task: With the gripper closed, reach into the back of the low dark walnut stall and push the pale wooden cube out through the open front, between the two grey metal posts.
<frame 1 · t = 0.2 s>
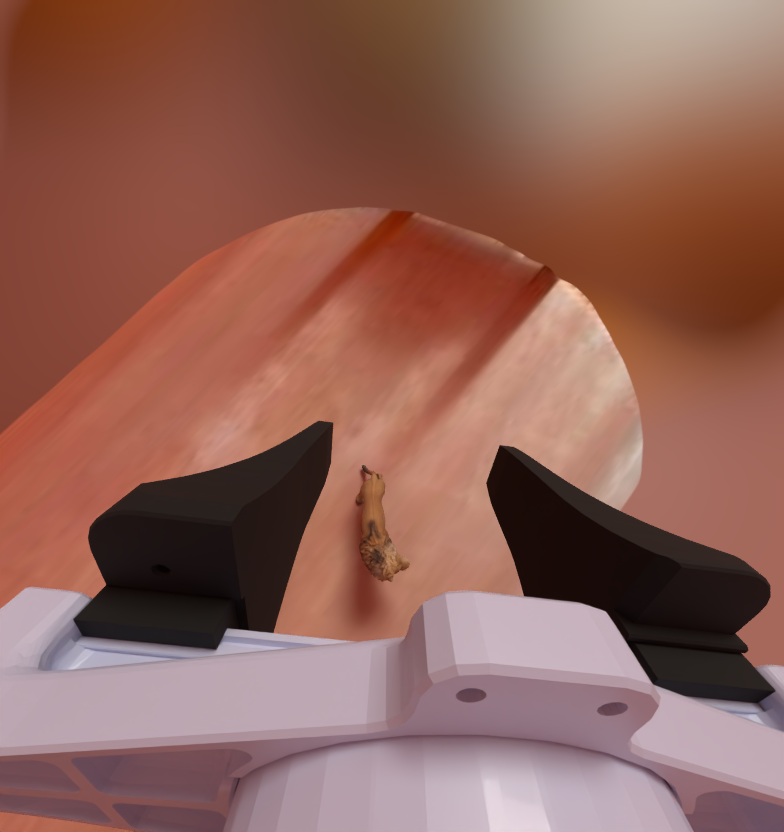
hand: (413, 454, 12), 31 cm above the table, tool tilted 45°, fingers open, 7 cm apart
lion figurine: (375, 519, 41), on the table
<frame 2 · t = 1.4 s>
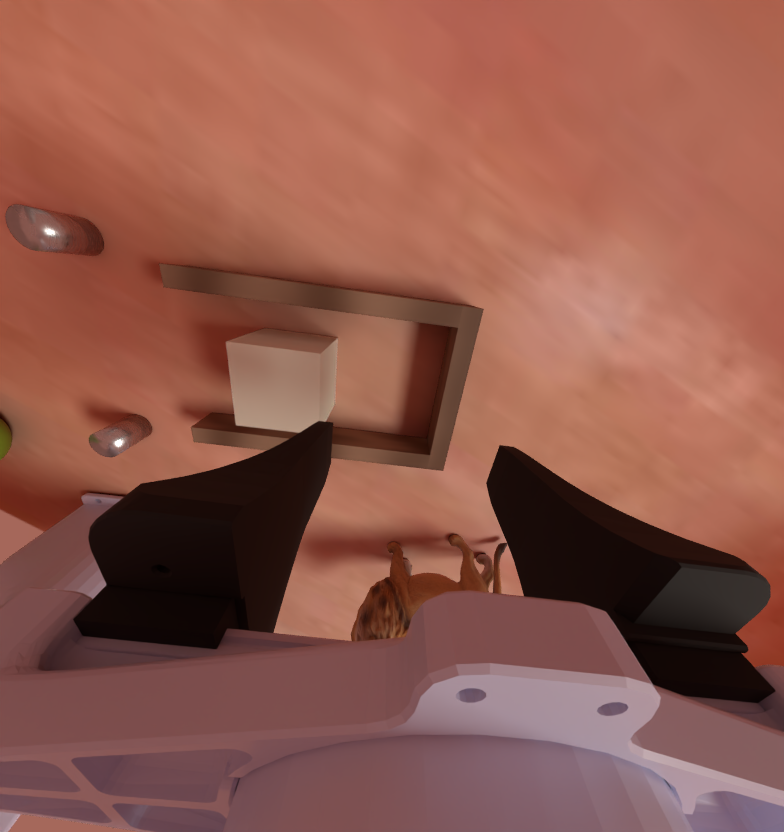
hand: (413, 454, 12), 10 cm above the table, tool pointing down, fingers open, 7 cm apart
lion figurine: (426, 553, 29), on the table
cube: (302, 367, 21), on the table
snail figurine: (6, 424, 23), on the table
stall: (322, 370, 21), on the table
posts: (116, 344, 20), on the table
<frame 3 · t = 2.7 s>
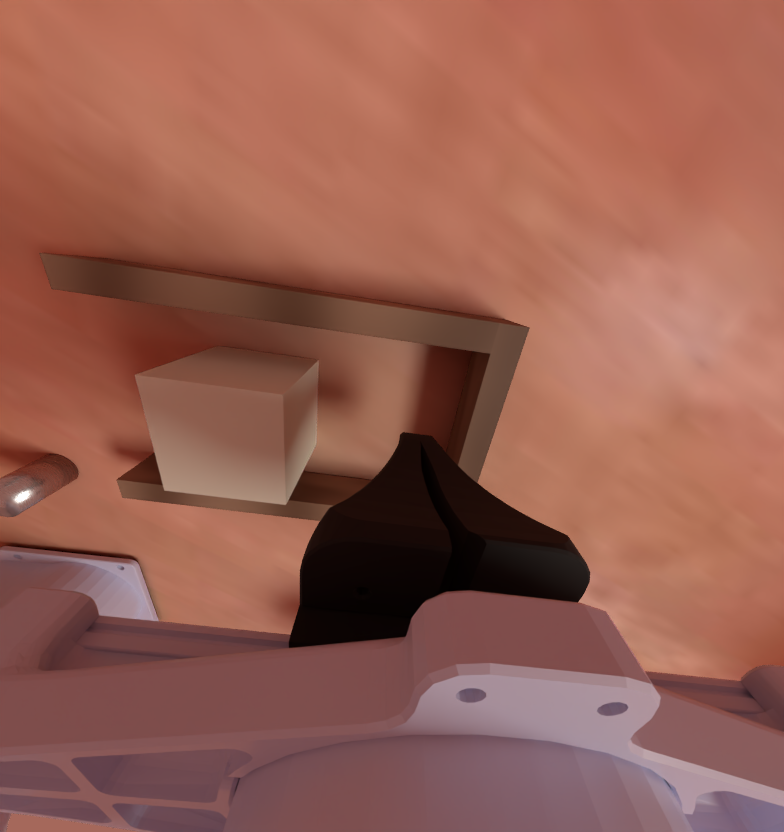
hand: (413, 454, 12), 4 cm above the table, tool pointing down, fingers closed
cube: (271, 398, 15), on the table
stall: (298, 403, 15), on the table
posts: (15, 364, 15), on the table
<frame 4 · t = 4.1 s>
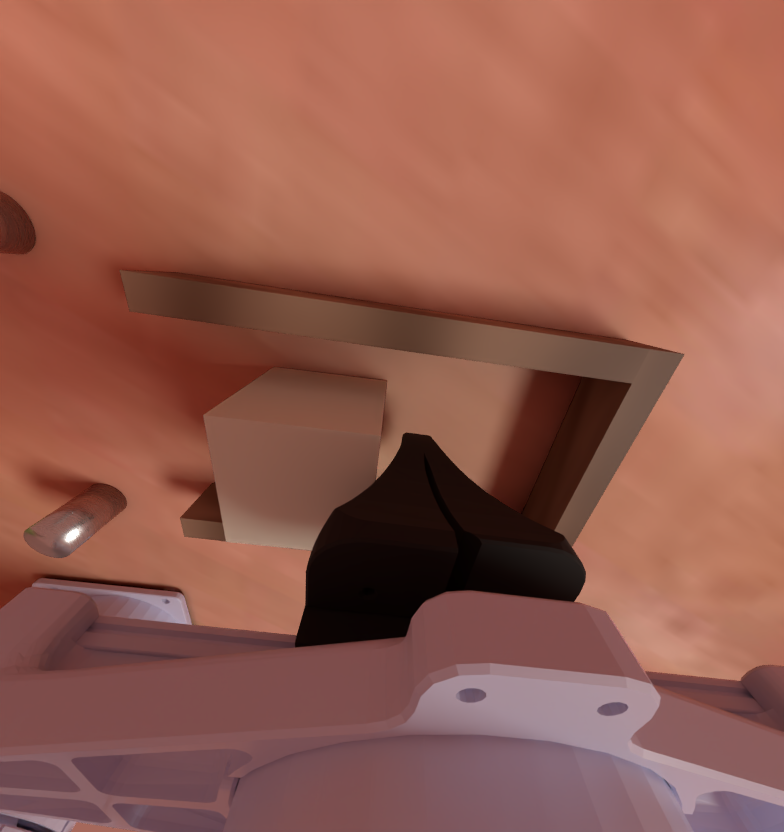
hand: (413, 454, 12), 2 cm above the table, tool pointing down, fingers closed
cube: (329, 423, 14), on the table, touching gripper
stall: (378, 430, 14), on the table
posts: (67, 389, 13), on the table
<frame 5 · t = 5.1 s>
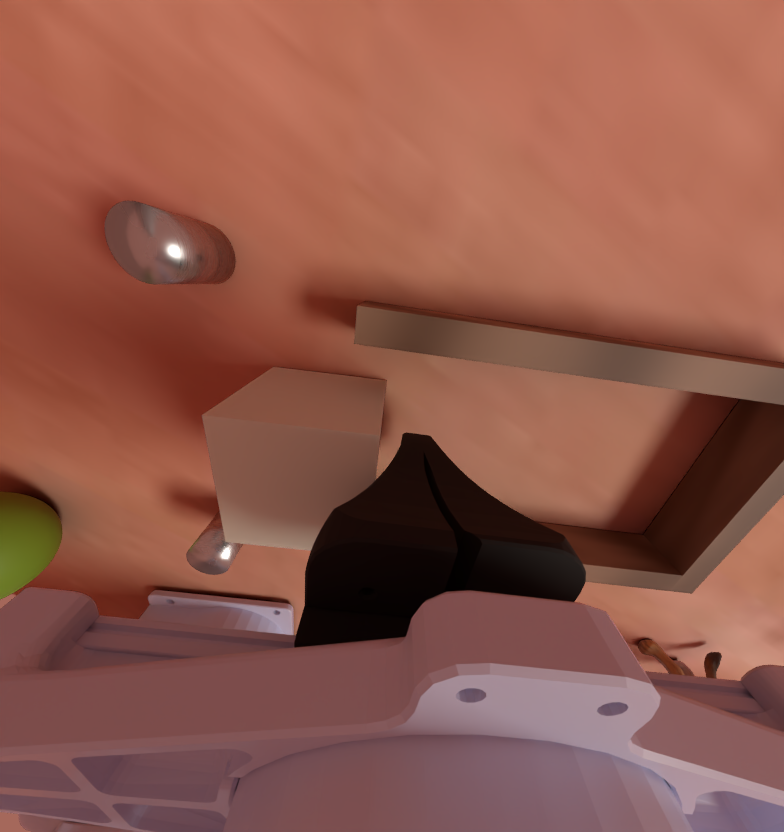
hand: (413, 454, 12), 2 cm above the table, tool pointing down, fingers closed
lion figurine: (596, 655, 22), on the table
cube: (329, 423, 14), on the table, touching gripper
snail figurine: (53, 508, 17), on the table
stall: (525, 449, 14), on the table
posts: (227, 410, 13), on the table
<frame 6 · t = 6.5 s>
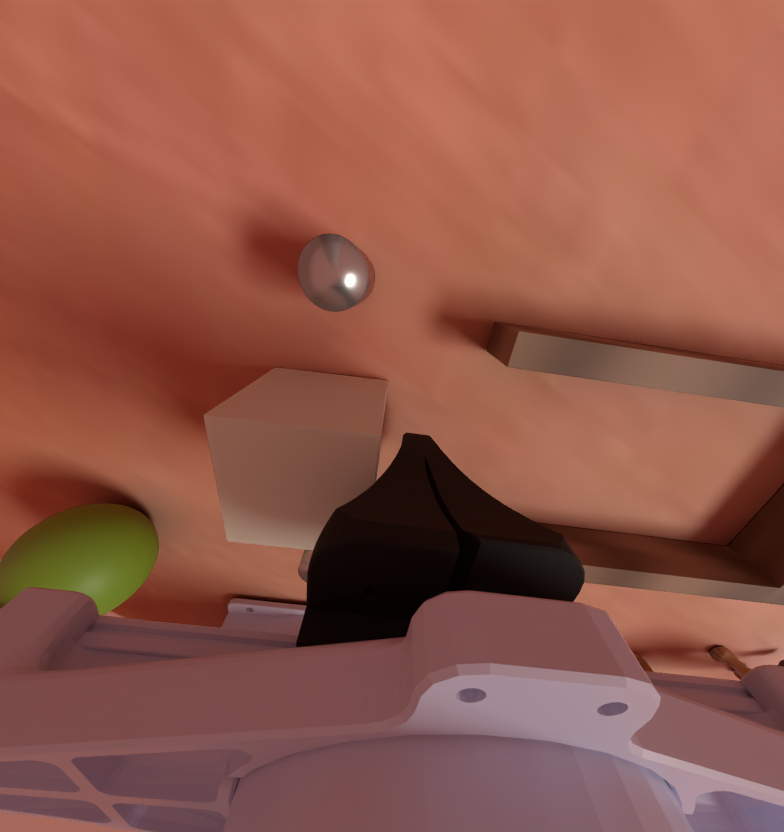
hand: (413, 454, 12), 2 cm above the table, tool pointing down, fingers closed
lion figurine: (664, 662, 22), on the table
cube: (330, 423, 14), on the table, touching gripper
snail figurine: (145, 518, 17), on the table
stall: (626, 464, 14), on the table
posts: (338, 425, 14), on the table
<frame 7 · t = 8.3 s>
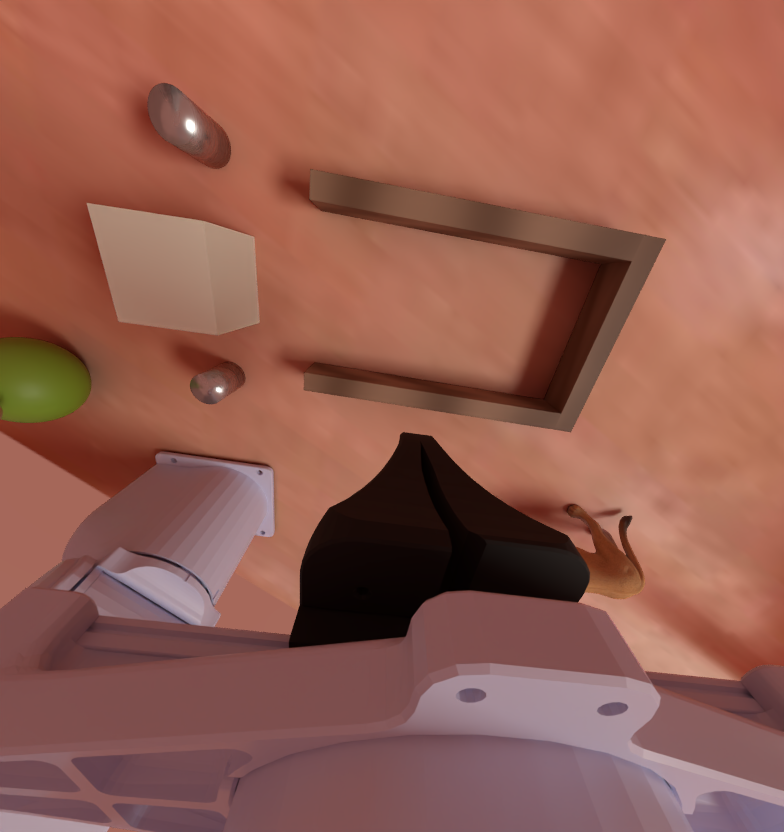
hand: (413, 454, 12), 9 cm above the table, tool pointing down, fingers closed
lion figurine: (535, 525, 27), on the table
cube: (217, 276, 18), on the table
snail figurine: (83, 370, 21), on the table
stall: (446, 317, 19), on the table
posts: (223, 278, 18), on the table
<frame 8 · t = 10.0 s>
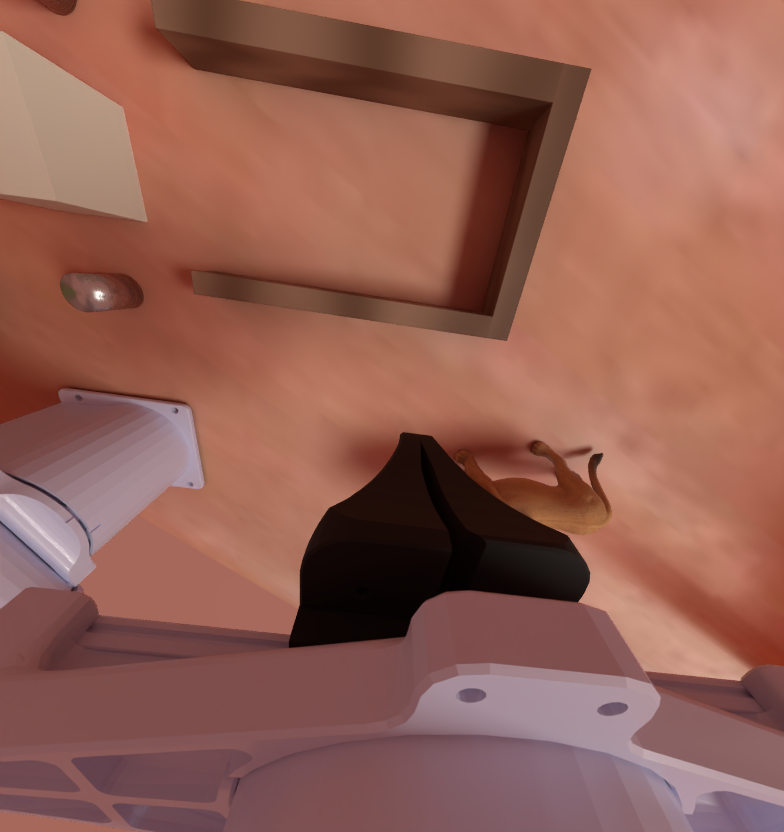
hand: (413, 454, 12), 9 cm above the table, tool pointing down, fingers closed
lion figurine: (498, 468, 24), on the table
cube: (91, 163, 16), on the table
stall: (358, 207, 16), on the table
posts: (96, 164, 16), on the table
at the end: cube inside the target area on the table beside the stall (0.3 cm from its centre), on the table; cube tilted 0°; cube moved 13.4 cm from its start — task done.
